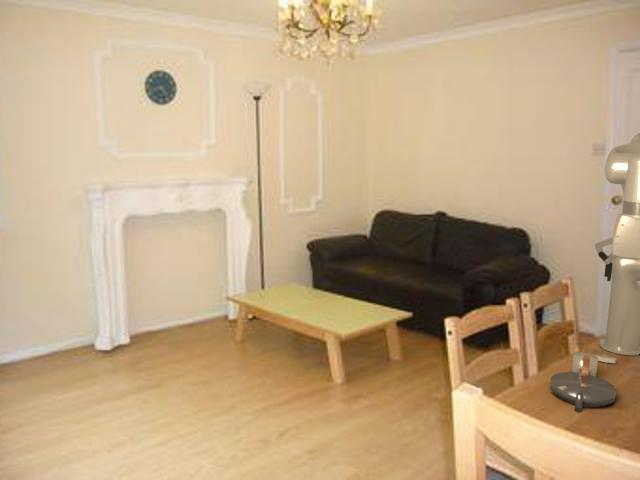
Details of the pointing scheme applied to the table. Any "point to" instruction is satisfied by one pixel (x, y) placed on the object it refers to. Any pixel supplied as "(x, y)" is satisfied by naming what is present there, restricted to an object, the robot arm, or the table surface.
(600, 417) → the table surface
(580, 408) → the dial pointer
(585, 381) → the turntable
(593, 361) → the cover
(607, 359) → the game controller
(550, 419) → the table surface
